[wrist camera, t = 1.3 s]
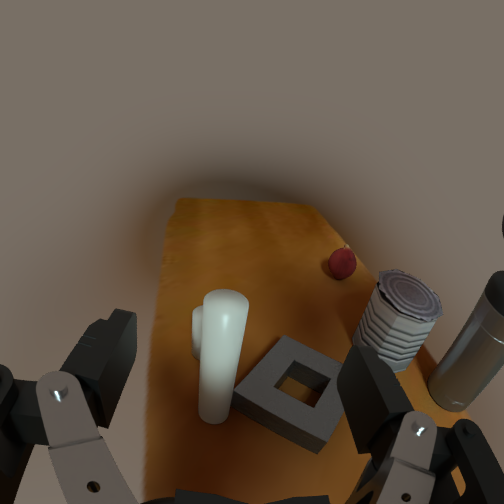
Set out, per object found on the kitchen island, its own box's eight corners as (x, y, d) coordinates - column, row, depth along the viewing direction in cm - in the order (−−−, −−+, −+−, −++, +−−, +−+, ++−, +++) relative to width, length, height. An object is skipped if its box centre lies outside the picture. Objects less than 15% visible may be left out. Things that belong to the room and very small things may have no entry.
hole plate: (278, 351, 43) (284, 334, 41) (352, 388, 38) (361, 372, 36) (230, 405, 33) (233, 390, 32) (317, 454, 28) (327, 441, 27)
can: (380, 319, 52) (404, 264, 46) (422, 357, 44) (456, 302, 38) (337, 338, 47) (363, 276, 41) (384, 385, 38) (422, 325, 33)
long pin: (210, 394, 34) (222, 283, 26) (234, 410, 33) (257, 302, 25) (191, 412, 32) (194, 302, 23) (216, 429, 30) (231, 324, 22)
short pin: (202, 338, 43) (205, 301, 39) (222, 351, 41) (227, 314, 38) (186, 351, 40) (186, 314, 37) (206, 365, 38) (209, 328, 35)
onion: (348, 274, 65) (359, 241, 61) (351, 288, 60) (364, 254, 56) (323, 268, 65) (333, 236, 62) (325, 283, 60) (335, 248, 57)
